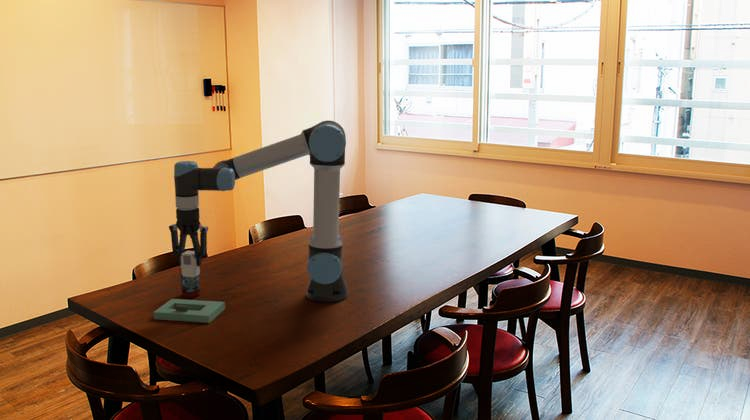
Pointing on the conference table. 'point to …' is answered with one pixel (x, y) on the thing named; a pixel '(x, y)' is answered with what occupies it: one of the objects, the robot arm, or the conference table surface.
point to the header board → (189, 310)
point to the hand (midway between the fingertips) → (190, 274)
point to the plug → (188, 263)
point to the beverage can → (190, 285)
